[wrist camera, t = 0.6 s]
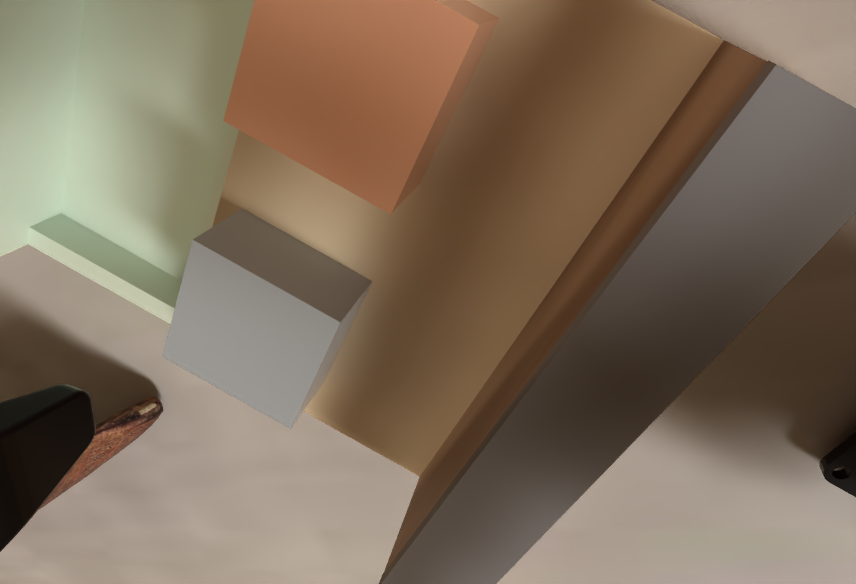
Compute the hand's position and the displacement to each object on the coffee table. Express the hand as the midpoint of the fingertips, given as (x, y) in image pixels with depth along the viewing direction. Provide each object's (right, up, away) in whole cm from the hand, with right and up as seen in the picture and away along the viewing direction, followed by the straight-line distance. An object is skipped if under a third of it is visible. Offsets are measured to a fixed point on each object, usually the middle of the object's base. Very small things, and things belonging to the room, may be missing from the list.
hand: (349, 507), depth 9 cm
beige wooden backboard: (+3, +5, +11) cm, 12 cm away
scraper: (+5, +2, +8) cm, 10 cm away
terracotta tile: (0, +9, +6) cm, 11 cm away
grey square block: (-3, +3, +10) cm, 11 cm away
